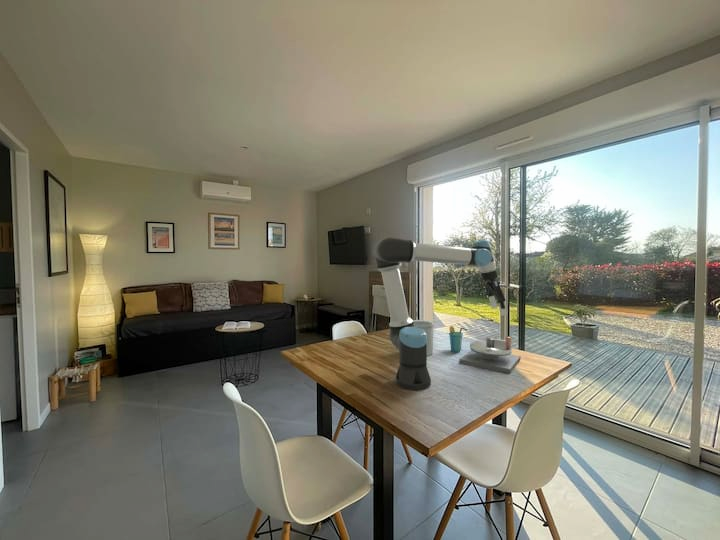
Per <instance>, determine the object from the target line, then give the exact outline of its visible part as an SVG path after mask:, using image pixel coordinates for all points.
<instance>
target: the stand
mask: <svg viewBox="0 0 720 540" xmlns="http://www.w3.org/2000/svg"><path fill="white" fill-rule="evenodd" d="M521 357H522V356H521V355H517V354H512V353H511V354H510V355H506V356H489V355H483V354H479V353H476V352H473V351H472V350H471V349H470V351H468V352H467V353H466V354H464V355H463V356H461V358H459V359H458V360H459V364H463V365H467V366H472V367H477V368H483V369H486V370H487V369H488V370H491V371H497V372H502V373H507V374H511V373H512V372H513V370H514V369H515V368H516V366H517V365H518V363H519V362H520V361H521Z"/></svg>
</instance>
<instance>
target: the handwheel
mask: <svg viewBox="0 0 720 540" xmlns="http://www.w3.org/2000/svg"><path fill="white" fill-rule="evenodd" d="M469 349H470V351H471V350H472V351H473V352H476V353H479V354H483V355H489V356H506V355H510V354H512V352H513V350H512V349H513V348H512V337H510V336H505V339H498V338H493V337H486V340H479V341H478V340H476V341H473V342H470V345H469Z"/></svg>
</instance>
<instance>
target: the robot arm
mask: <svg viewBox="0 0 720 540" xmlns="http://www.w3.org/2000/svg"><path fill="white" fill-rule="evenodd" d="M371 252H372V258H373V259H374V261H375V265H376V269H377V271H379V272H381V273H380V274H381V277H382V283H383V287H384V292H385V297H386V301H387V307H388V311H389V316H390V322H389V323H388V326H389V338H390V341H391V343H392V345H393V346H395V348H396V349H397V350H398V352H399V365H398V368H397V372H396V373H395V374H396V376H395V384H396V386H398V387H399V388H402V389H404V390H408V391H422V390H427V389H428V388H430V387H431V386H432V380H431V375H430V372H429V370H428V366H427V363H428V361H427V360H428V359H427V358H428V356H427V337H426V332H425V331H424V330H422V329H420V328H417V327H414V323H413V318H411V317H410V316H409V311H408V310H409V309H408V305H407V301H406V297H405V292H404V286H403V282H402V276H401V272H400V267H401V266H402V263H411V262H413V261H414V262H415V261H416V262H427V263H440V264H450V265H451V264H452V265H453V266H454V267H455V268H464V267H466V266H469V267H470V266H471V267H472V266H474V267H475V266H476V267H478V269H479V272H481V273H480V277H481V279H482V280H483V281H484V285H485V294H486V295H487V297H488V300H489V303H490V304H489V305H490V308H491V310H493V309H498V308H499V312H500V315H501V316H502V317H503V316H506V315H508V310H507V308H506V307H507V306H506V303H505V302H506V300H507V299H506V297H505V295H504V293H503V291H502V288H501V286H500V282H499V280H497V281H496V278H498V277H499V273H498V270H497V269H496V268H497V266H496V264H497V262H496V261H495V258H494V254H493V251H492V246H491V242H490V241H489V240H488V239H486V238H483V239H481V240H477V241H474V242H472V247H460V246H450V245H440V244H439V245H438V244H430V243H429V244H428V243H419V242H418V243H417V242H414V241H413V240H410V239H405V238H404V239H403V238H400V237H393V236H387V237H385V238H381V239H379V240H377V241H376V242H375V243H374V244H373V246H372V249H371ZM496 299H497V300H496Z"/></svg>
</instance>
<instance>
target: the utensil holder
mask: <svg viewBox="0 0 720 540" xmlns="http://www.w3.org/2000/svg"><path fill="white" fill-rule="evenodd" d="M412 320H413V319H412ZM413 323H414V327H417V328H420V329H422V330H424V331H425V332H426V337H427V357H428V356H429V357H430V356H432V355H433V352H434V330H435V329H434V328H435V323H434V322H433V321H429V320H424V319H423V320H422V319H416V320H413Z"/></svg>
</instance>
